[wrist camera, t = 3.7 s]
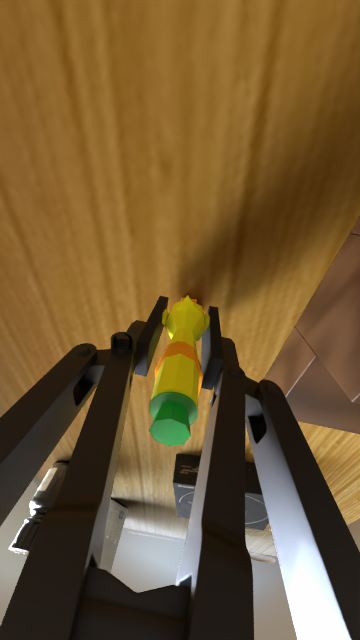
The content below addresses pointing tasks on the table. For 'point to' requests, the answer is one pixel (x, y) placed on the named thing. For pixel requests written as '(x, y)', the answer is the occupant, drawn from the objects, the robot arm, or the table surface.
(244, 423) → the robot arm
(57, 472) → the ink bottle
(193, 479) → the portable cd player
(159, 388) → the toy figure
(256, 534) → the table surface
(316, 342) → the display shelf
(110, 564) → the hard drive box
